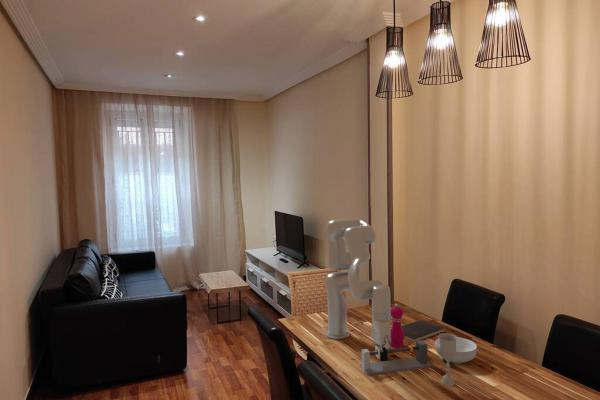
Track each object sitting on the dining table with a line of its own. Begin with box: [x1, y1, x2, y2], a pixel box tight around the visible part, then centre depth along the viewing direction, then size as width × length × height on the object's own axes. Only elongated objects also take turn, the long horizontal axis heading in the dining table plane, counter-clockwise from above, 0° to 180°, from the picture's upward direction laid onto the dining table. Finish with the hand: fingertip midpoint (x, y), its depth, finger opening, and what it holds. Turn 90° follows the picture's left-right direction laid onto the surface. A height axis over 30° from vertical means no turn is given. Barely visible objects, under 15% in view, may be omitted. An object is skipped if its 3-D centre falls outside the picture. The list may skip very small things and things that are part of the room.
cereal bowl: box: [434, 336, 478, 365], centre depth 181 cm, size 17×17×7 cm
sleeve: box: [374, 345, 385, 360], centre depth 174 cm, size 4×4×4 cm
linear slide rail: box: [359, 339, 432, 376], centre depth 175 cm, size 8×28×9 cm, turn 102°
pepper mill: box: [389, 303, 405, 349], centre depth 196 cm, size 7×7×20 cm
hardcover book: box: [390, 319, 446, 343], centre depth 213 cm, size 16×23×2 cm
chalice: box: [438, 332, 458, 387], centre depth 161 cm, size 7×7×18 cm
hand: (381, 357), depth 174 cm, fingers closed on sleeve, 4 cm apart
